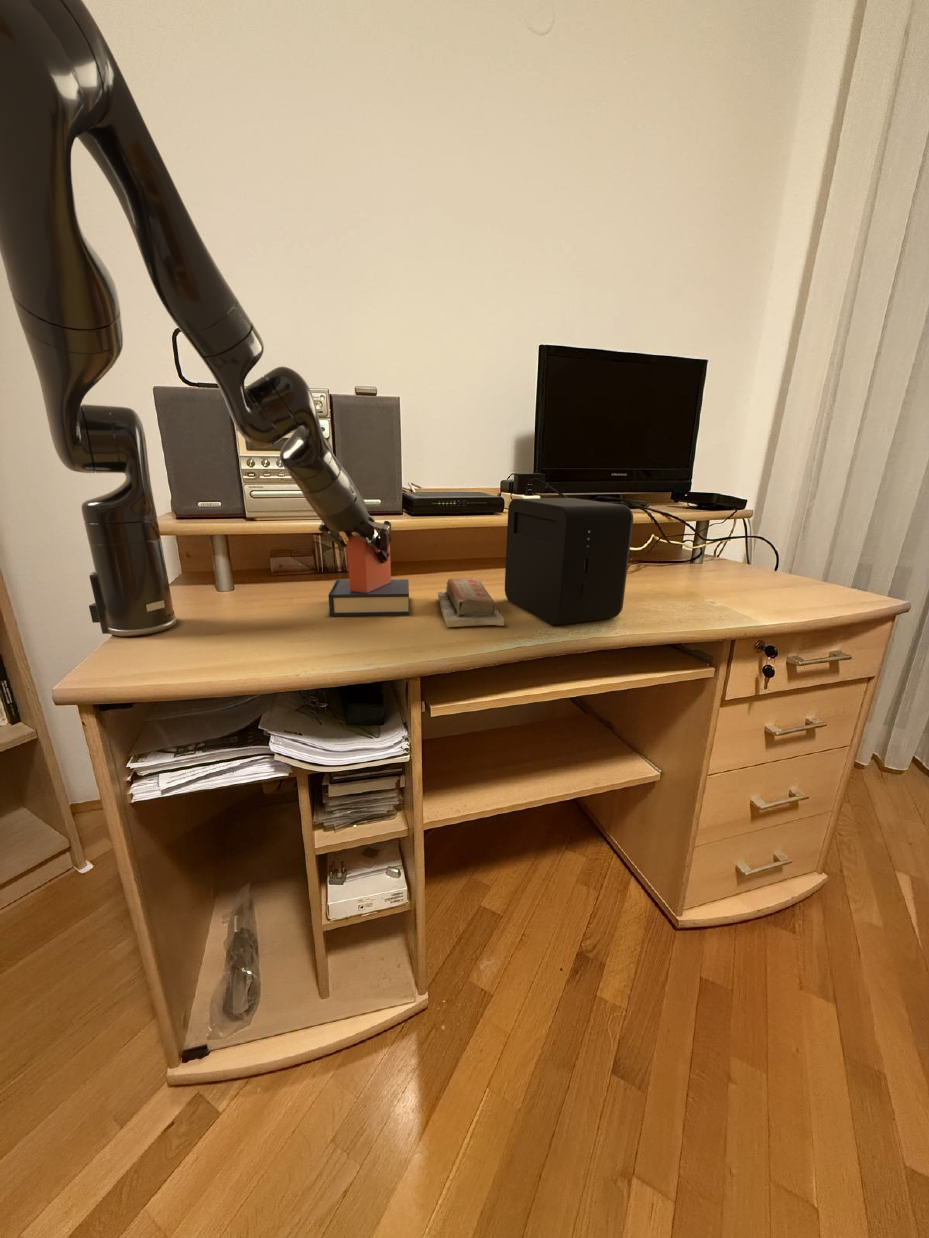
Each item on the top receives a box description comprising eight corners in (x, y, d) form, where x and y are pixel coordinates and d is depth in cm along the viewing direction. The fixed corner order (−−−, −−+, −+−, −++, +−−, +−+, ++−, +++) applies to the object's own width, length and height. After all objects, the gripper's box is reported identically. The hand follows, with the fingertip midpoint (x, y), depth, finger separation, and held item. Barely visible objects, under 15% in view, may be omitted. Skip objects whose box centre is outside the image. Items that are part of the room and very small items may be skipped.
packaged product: (437, 576, 97) (486, 575, 98) (436, 599, 98) (485, 598, 100) (446, 600, 80) (506, 599, 81) (446, 629, 81) (505, 627, 83)
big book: (329, 616, 87) (328, 594, 85) (337, 599, 97) (336, 580, 96) (409, 615, 88) (408, 593, 87) (408, 598, 99) (408, 579, 97)
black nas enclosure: (628, 620, 87) (642, 506, 81) (558, 629, 82) (568, 507, 76) (564, 592, 105) (572, 496, 99) (503, 598, 100) (508, 497, 93)
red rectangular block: (366, 593, 86) (363, 530, 83) (349, 591, 88) (346, 529, 84) (391, 582, 95) (389, 524, 91) (375, 580, 96) (373, 523, 92)
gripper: (286, 512, 78) (336, 572, 92) (363, 516, 73) (403, 579, 88) (304, 476, 81) (350, 540, 95) (380, 478, 76) (416, 545, 91)
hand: (375, 558), depth 91 cm, fingers closed on red rectangular block, 3 cm apart
